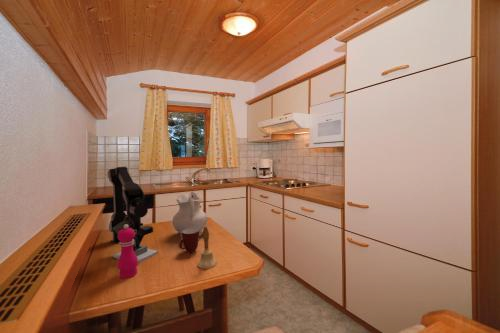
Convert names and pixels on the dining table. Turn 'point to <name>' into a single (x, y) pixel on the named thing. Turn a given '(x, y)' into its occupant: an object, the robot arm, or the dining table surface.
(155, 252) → the grey plate with socket
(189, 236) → the mug
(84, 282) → the dining table surface
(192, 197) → the ceramic pitcher
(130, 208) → the robot arm
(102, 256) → the dining table surface
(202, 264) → the hand bell
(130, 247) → the pepper mill
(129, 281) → the dining table surface
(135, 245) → the pin
